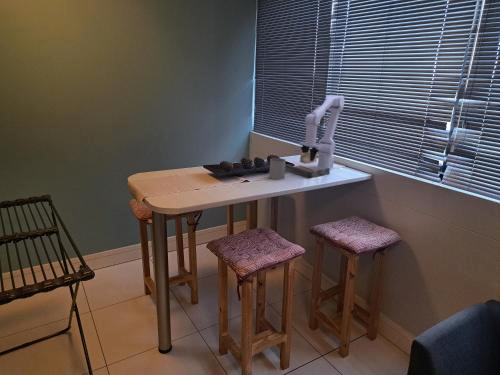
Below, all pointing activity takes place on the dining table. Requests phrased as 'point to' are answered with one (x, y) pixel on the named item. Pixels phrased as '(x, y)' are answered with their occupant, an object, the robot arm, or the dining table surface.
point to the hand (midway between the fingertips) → (308, 159)
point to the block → (307, 158)
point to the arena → (307, 171)
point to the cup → (277, 168)
